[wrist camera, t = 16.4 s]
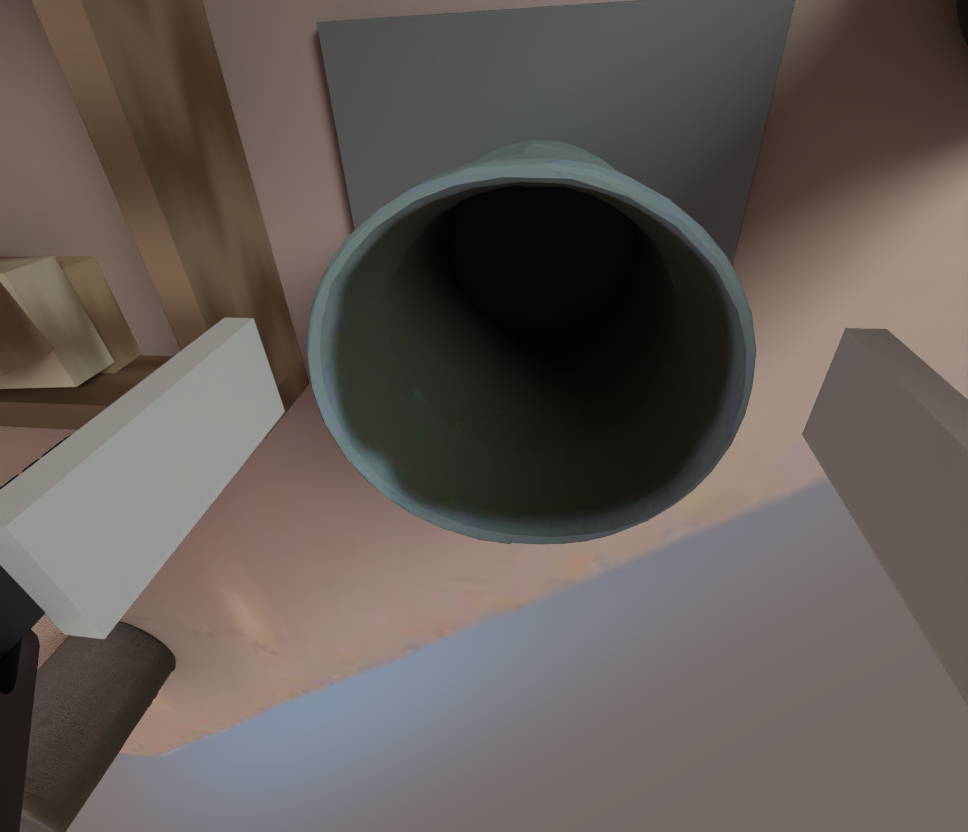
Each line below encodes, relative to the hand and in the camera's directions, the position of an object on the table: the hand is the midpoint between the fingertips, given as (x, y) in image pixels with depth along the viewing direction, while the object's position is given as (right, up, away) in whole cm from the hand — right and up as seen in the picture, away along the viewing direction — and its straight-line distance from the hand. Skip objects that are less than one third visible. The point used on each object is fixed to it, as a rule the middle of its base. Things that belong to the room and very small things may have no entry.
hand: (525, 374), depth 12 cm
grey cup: (+1, +6, +10) cm, 12 cm away
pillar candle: (-36, -23, +37) cm, 56 cm away
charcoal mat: (+1, +6, +10) cm, 12 cm away
